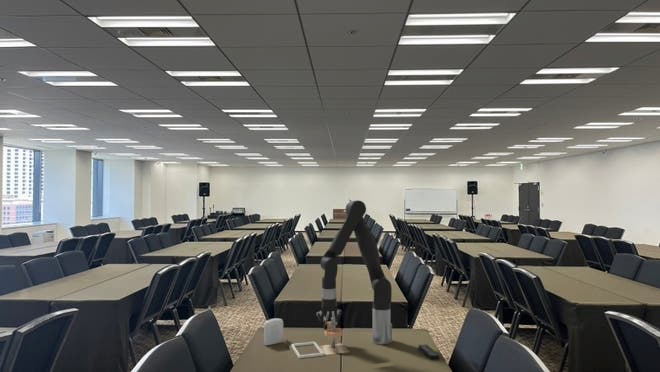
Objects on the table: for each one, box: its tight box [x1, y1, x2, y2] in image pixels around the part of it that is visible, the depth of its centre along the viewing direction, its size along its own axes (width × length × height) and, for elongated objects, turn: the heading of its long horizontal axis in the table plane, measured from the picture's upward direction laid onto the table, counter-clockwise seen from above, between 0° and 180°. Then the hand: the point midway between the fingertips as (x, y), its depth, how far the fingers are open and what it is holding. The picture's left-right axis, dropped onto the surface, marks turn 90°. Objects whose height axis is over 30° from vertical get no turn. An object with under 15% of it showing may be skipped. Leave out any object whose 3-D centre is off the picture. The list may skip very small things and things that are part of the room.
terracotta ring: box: [323, 321, 344, 339], centre depth 202 cm, size 8×13×4 cm
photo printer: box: [263, 317, 284, 346], centre depth 211 cm, size 10×4×12 cm, turn 123°
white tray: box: [291, 341, 325, 359], centre depth 196 cm, size 12×16×2 cm
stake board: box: [318, 321, 351, 356], centre depth 199 cm, size 12×12×14 cm
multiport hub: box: [418, 344, 440, 361], centre depth 197 cm, size 4×14×2 cm, turn 10°
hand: (329, 331), depth 207 cm, fingers closed on terracotta ring, 3 cm apart
